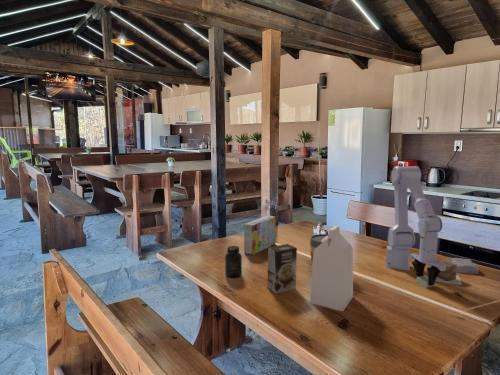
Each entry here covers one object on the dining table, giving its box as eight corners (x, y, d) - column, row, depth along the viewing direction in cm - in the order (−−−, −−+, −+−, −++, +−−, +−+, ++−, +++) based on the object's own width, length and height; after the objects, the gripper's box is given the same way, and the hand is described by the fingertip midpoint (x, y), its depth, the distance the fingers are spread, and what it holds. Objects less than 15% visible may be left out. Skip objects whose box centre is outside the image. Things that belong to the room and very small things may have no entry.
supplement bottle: (244, 273, 145) (244, 246, 143) (237, 280, 139) (237, 251, 137) (230, 271, 148) (229, 244, 146) (222, 277, 142) (221, 248, 140)
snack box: (267, 242, 187) (267, 215, 185) (276, 244, 184) (276, 216, 182) (243, 253, 170) (243, 223, 168) (252, 255, 167) (252, 225, 165)
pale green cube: (426, 289, 131) (426, 281, 130) (416, 284, 135) (416, 277, 134) (434, 287, 132) (435, 279, 132) (424, 282, 136) (424, 275, 136)
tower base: (446, 281, 136) (447, 274, 136) (435, 276, 141) (436, 269, 140) (456, 279, 138) (456, 272, 138) (444, 274, 143) (445, 267, 142)
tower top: (447, 274, 136) (448, 266, 135) (436, 269, 140) (437, 262, 140) (456, 272, 138) (457, 264, 137) (445, 267, 142) (445, 260, 142)
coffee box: (275, 294, 127) (276, 251, 124) (267, 287, 132) (267, 246, 130) (296, 289, 131) (297, 247, 128) (287, 282, 137) (287, 243, 134)
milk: (342, 311, 114) (345, 234, 111) (309, 302, 121) (311, 229, 117) (353, 297, 125) (356, 226, 121) (322, 289, 131) (324, 221, 127)
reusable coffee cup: (345, 272, 146) (346, 238, 144) (329, 281, 137) (331, 245, 135) (319, 264, 155) (320, 232, 153) (303, 273, 146) (304, 238, 144)
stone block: (455, 278, 145) (481, 275, 143) (453, 267, 145) (479, 264, 142) (445, 268, 157) (469, 265, 154) (443, 258, 156) (467, 255, 154)
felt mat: (432, 281, 137) (432, 280, 137) (430, 272, 146) (430, 271, 146) (462, 286, 133) (462, 284, 133) (458, 276, 142) (458, 275, 142)
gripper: (453, 252, 126) (450, 288, 128) (420, 241, 139) (417, 273, 141) (439, 255, 123) (436, 291, 125) (406, 243, 137) (404, 276, 139)
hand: (425, 282), depth 133 cm, fingers closed on pale green cube, 5 cm apart
